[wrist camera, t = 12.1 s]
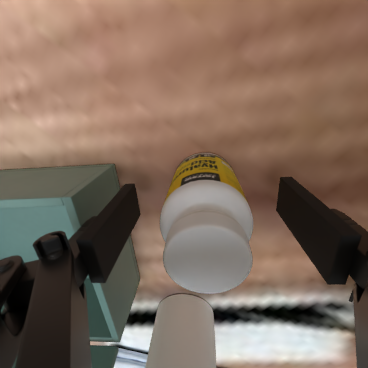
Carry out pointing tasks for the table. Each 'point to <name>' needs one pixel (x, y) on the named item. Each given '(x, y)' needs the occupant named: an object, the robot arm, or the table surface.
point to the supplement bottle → (206, 226)
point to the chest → (69, 231)
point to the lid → (100, 356)
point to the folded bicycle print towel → (130, 359)
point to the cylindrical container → (183, 334)
